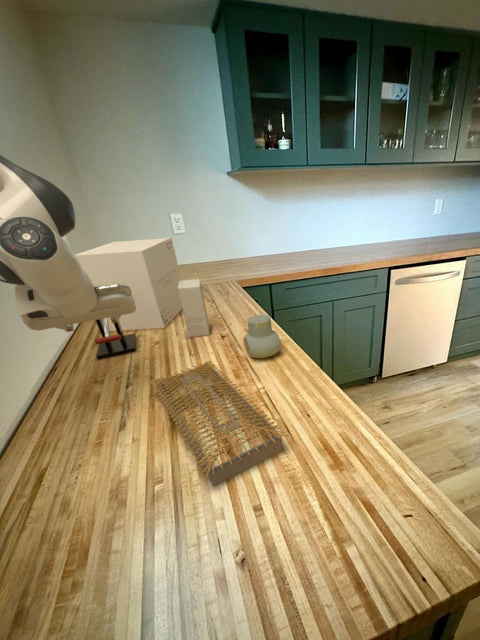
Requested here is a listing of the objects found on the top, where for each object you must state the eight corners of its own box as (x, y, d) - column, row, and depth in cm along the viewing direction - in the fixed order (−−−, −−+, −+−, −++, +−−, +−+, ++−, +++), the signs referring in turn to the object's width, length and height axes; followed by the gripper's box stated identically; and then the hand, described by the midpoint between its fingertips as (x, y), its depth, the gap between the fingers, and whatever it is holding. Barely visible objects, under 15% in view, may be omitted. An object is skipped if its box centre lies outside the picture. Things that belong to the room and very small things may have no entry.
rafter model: (153, 394, 76) (145, 370, 73) (213, 372, 83) (208, 350, 80) (210, 493, 50) (201, 463, 47) (290, 451, 57) (287, 422, 54)
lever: (122, 341, 91) (119, 335, 89) (97, 346, 89) (94, 341, 87) (115, 306, 97) (113, 300, 95) (92, 310, 95) (89, 304, 93)
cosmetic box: (190, 328, 110) (178, 280, 102) (210, 325, 111) (200, 277, 103) (189, 338, 103) (176, 287, 95) (211, 334, 104) (200, 284, 96)
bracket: (136, 351, 97) (119, 305, 90) (97, 359, 94) (77, 312, 87) (135, 336, 106) (121, 294, 99) (101, 344, 103) (83, 300, 96)
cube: (164, 327, 112) (141, 250, 99) (102, 331, 113) (72, 255, 100) (187, 303, 133) (171, 237, 121) (135, 306, 134) (113, 241, 122)
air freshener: (285, 357, 87) (281, 321, 82) (254, 365, 84) (248, 328, 79) (271, 342, 96) (267, 308, 91) (243, 349, 93) (237, 314, 88)
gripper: (124, 269, 68) (138, 303, 81) (4, 287, 61) (40, 321, 74) (131, 297, 67) (144, 326, 79) (9, 317, 60) (45, 346, 73)
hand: (93, 324), depth 77 cm, fingers open, 8 cm apart
